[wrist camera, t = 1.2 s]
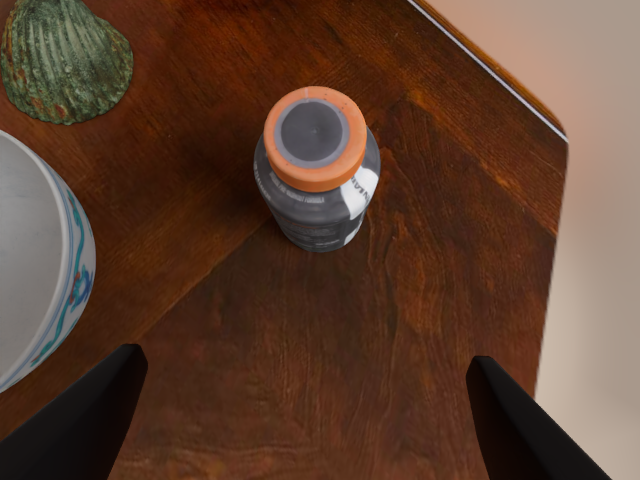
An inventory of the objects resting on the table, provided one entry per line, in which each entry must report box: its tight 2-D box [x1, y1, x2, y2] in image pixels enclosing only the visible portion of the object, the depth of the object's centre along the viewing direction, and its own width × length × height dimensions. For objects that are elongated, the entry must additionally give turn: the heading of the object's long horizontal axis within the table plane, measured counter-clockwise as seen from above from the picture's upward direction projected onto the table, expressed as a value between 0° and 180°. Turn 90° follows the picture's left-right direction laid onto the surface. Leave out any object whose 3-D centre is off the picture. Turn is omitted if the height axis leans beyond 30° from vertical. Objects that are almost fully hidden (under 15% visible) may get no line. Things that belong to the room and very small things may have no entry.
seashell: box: [0, 0, 133, 125], centre depth 25 cm, size 10×4×10 cm
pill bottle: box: [254, 86, 380, 252], centre depth 18 cm, size 6×6×11 cm
